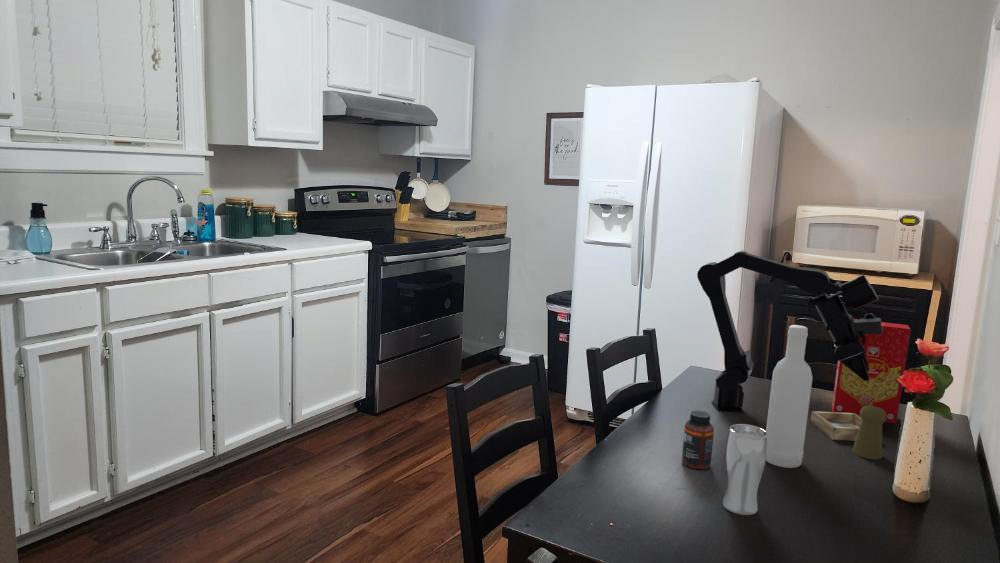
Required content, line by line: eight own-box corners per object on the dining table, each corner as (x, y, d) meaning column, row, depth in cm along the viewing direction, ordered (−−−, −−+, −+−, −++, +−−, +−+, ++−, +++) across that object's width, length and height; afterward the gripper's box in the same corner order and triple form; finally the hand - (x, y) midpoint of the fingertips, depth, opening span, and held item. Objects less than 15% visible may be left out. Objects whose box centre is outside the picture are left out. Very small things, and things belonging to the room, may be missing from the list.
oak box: (831, 439, 160) (833, 427, 160) (810, 422, 171) (811, 411, 170) (877, 441, 160) (879, 429, 160) (853, 424, 171) (855, 413, 171)
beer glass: (755, 520, 120) (765, 441, 118) (715, 509, 124) (724, 431, 121) (763, 505, 126) (772, 429, 123) (725, 494, 129) (733, 420, 127)
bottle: (756, 459, 146) (772, 325, 141) (770, 449, 152) (786, 320, 147) (794, 472, 141) (811, 333, 136) (807, 461, 147) (824, 327, 142)
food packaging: (833, 413, 179) (845, 321, 175) (831, 407, 184) (843, 317, 180) (896, 423, 173) (910, 329, 169) (893, 417, 178) (907, 325, 174)
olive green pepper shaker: (887, 460, 150) (895, 413, 148) (860, 458, 150) (867, 411, 148) (873, 449, 156) (880, 403, 154) (847, 447, 156) (853, 402, 154)
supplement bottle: (712, 462, 144) (717, 412, 142) (708, 473, 139) (713, 420, 137) (683, 456, 146) (688, 406, 145) (678, 466, 141) (683, 415, 139)
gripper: (869, 309, 152) (904, 372, 150) (869, 297, 168) (900, 354, 166) (820, 329, 157) (853, 390, 155) (825, 315, 173) (854, 371, 172)
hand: (867, 375), depth 162 cm, fingers open, 9 cm apart
